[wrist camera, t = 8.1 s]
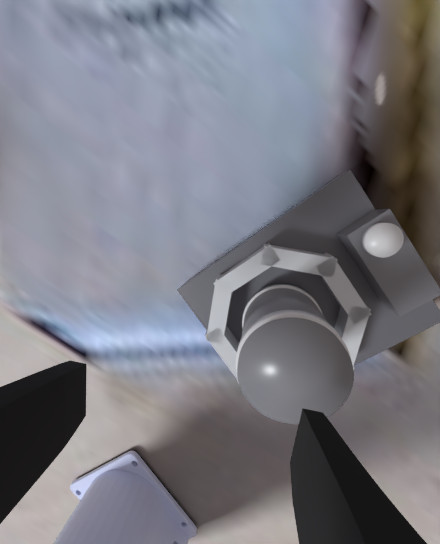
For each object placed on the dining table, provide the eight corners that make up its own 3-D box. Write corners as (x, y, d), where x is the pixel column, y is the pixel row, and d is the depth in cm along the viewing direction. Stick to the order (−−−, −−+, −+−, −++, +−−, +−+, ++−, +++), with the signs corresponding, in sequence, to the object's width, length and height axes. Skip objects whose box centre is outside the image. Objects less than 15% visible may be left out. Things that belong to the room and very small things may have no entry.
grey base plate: (423, 307, 16) (481, 338, 12) (264, 390, 19) (266, 439, 15) (338, 175, 16) (369, 159, 11) (185, 282, 18) (163, 301, 14)
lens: (322, 282, 15) (362, 322, 9) (317, 354, 16) (350, 432, 10) (243, 280, 16) (234, 317, 10) (242, 350, 17) (234, 420, 11)
